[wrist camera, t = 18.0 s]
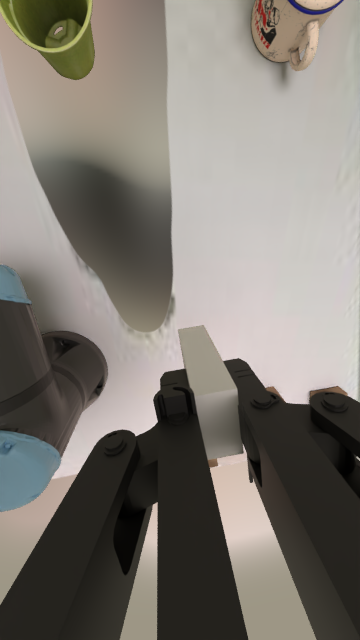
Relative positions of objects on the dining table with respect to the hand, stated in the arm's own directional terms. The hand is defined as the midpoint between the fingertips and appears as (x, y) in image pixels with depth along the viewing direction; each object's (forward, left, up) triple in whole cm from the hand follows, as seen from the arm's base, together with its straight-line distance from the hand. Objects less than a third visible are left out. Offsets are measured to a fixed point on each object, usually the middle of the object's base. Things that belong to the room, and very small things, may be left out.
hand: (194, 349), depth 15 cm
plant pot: (+3, +32, -30) cm, 44 cm away
